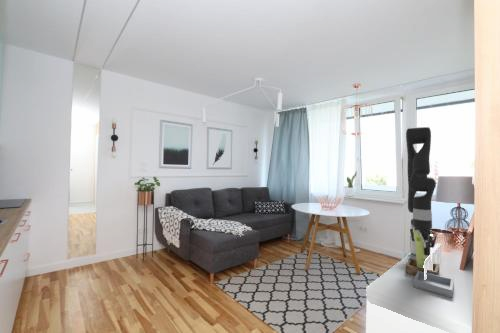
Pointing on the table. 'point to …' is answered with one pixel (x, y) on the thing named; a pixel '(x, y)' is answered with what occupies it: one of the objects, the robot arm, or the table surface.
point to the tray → (434, 284)
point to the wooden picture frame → (413, 269)
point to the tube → (419, 249)
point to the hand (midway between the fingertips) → (422, 252)
